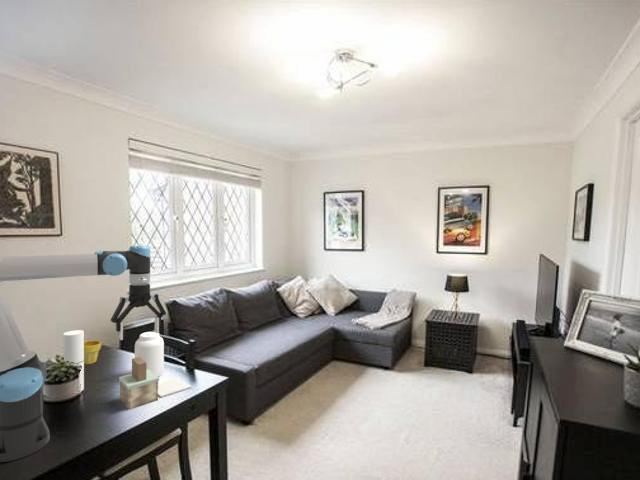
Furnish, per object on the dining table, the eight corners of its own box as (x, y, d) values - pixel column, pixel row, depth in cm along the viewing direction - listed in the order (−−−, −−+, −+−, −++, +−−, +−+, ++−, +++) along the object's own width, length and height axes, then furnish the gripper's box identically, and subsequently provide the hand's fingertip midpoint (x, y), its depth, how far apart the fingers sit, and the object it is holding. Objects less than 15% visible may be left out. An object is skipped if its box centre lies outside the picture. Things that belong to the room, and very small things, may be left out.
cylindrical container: (73, 395, 144) (73, 335, 144) (59, 393, 146) (58, 334, 145) (87, 387, 151) (87, 330, 150) (74, 385, 153) (74, 329, 152)
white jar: (148, 368, 173) (148, 328, 173) (169, 371, 170) (169, 331, 169) (128, 378, 161) (128, 336, 160) (150, 382, 158) (150, 338, 157)
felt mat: (160, 398, 144) (160, 396, 144) (149, 387, 153) (149, 385, 153) (191, 388, 153) (191, 386, 153) (178, 378, 162) (178, 377, 162)
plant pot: (105, 358, 184) (105, 340, 184) (91, 366, 174) (91, 347, 174) (87, 357, 185) (87, 339, 185) (71, 365, 175) (71, 346, 175)
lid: (127, 393, 133) (127, 368, 133) (118, 383, 142) (118, 360, 141) (159, 384, 142) (159, 361, 141) (148, 375, 150) (149, 353, 149)
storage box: (128, 409, 134) (128, 389, 134) (119, 399, 142) (119, 380, 142) (157, 400, 142) (158, 380, 142) (148, 390, 150) (148, 372, 149)
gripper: (107, 288, 129) (107, 344, 130) (174, 282, 147) (173, 331, 147) (101, 285, 134) (101, 339, 135) (167, 280, 152) (166, 328, 153)
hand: (139, 335), depth 141 cm, fingers open, 13 cm apart
